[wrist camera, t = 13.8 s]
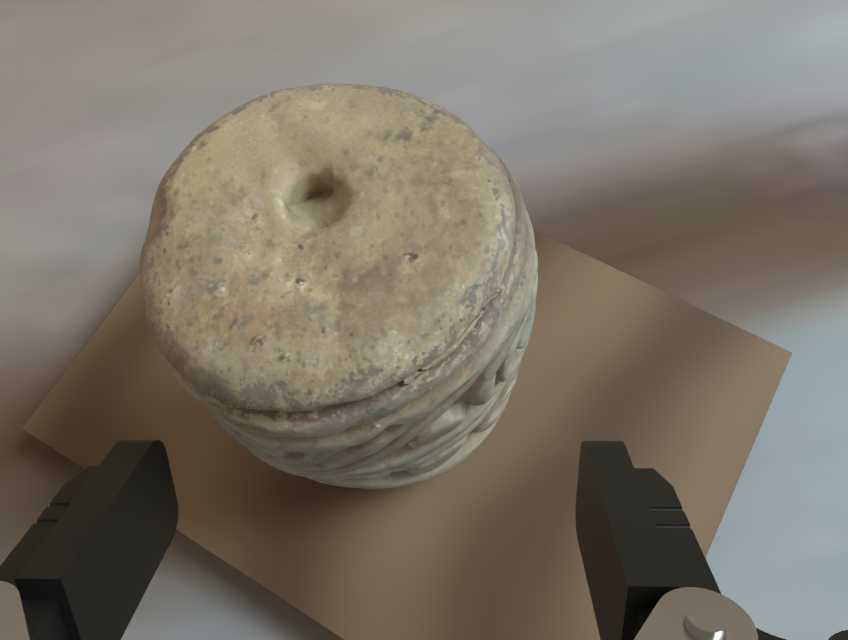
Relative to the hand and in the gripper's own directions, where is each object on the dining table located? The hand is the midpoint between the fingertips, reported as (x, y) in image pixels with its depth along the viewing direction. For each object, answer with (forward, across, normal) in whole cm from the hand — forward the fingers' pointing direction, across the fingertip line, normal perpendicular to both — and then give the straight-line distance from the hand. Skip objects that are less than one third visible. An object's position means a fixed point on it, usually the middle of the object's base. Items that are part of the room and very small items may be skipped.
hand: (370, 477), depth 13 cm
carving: (+8, 0, +3) cm, 9 cm away
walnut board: (+9, 0, +4) cm, 10 cm away
